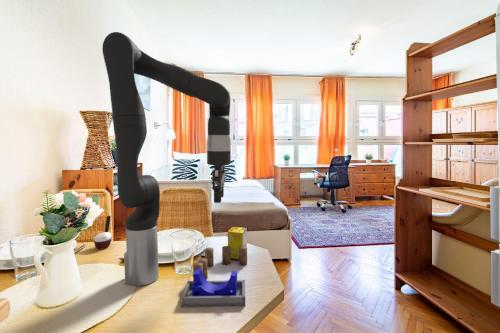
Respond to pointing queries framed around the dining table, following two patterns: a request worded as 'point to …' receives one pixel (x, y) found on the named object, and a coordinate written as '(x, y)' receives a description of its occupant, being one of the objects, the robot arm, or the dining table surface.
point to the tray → (213, 297)
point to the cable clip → (213, 286)
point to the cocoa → (103, 237)
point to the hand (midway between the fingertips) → (218, 199)
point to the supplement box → (236, 241)
